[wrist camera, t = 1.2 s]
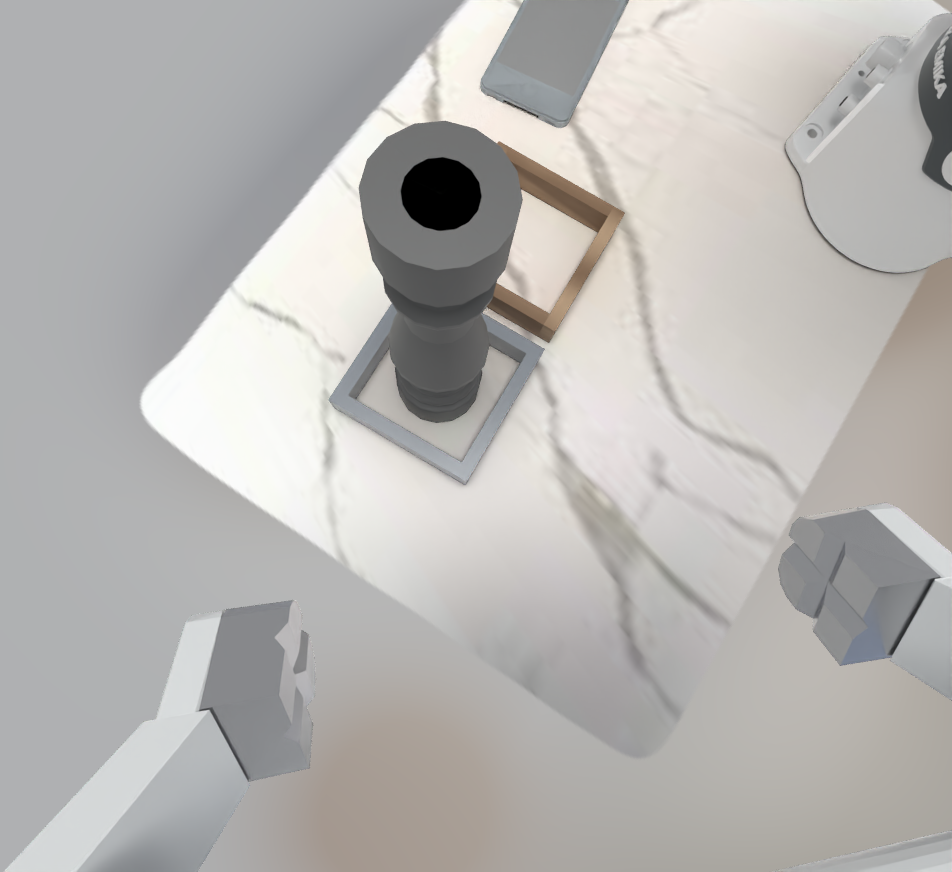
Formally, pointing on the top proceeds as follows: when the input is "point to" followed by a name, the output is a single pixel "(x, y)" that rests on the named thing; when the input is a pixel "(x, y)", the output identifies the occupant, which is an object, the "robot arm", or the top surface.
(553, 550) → the top surface
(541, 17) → the phone
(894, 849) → the robot arm
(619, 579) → the top surface
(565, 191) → the walnut frame
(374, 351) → the charcoal frame
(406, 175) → the candle holder
